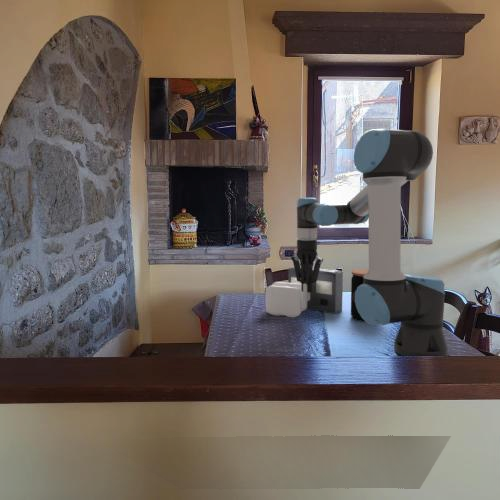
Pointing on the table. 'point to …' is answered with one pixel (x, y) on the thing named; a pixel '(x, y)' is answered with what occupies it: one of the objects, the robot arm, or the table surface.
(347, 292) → the table surface
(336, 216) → the robot arm
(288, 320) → the table surface
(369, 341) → the table surface
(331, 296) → the box
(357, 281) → the coffee jar
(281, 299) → the cable organizer
